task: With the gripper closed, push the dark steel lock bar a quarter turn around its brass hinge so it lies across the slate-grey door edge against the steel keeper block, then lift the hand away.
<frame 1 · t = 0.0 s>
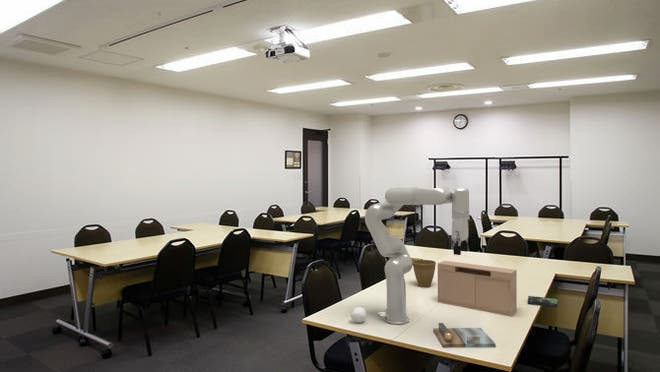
hand: (460, 252, 189), 37 cm above the table, tool pointing down, fingers open, 9 cm apart
plant pot: (424, 286, 271), on the table
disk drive: (542, 304, 232), on the table
lock bar: (444, 331, 184), point 3 cm above the table, hinge at 0.0°
box: (475, 307, 228), on the table
white ball: (358, 322, 207), on the table
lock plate: (462, 338, 185), on the table
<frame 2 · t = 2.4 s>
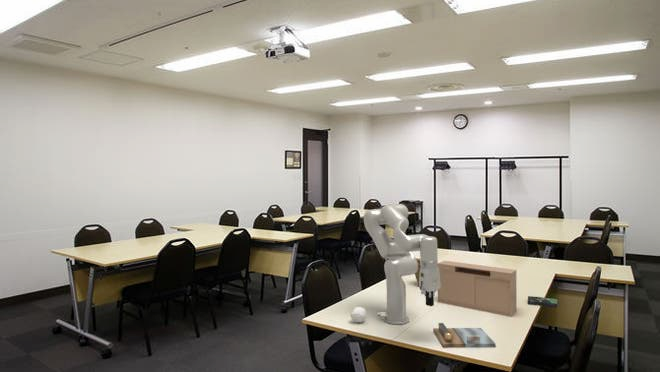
hand: (429, 305, 186), 15 cm above the table, tool pointing down, fingers closed
nothing on the table moved.
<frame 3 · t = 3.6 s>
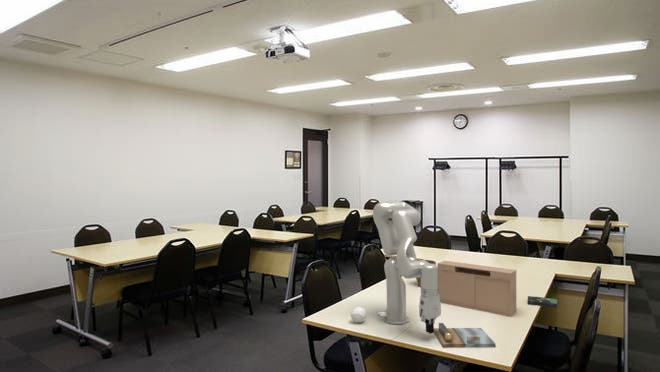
hand: (429, 332, 186), 2 cm above the table, tool pointing down, fingers closed
nothing on the table moved.
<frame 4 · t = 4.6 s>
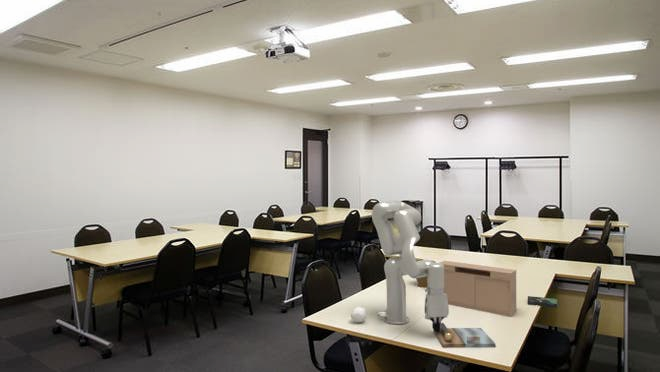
hand: (436, 330, 188), 2 cm above the table, tool pointing down, fingers closed
lock bar: (445, 331, 184), point 3 cm above the table, hinge at 1.1°, touching gripper
everything else where it was.
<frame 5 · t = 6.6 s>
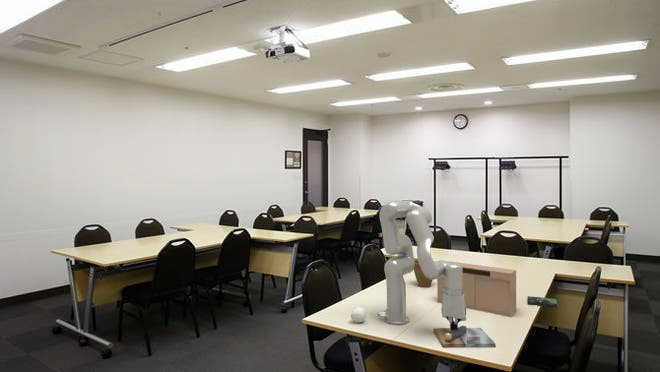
hand: (454, 331, 187), 2 cm above the table, tool pointing down, fingers closed
lock bar: (455, 333, 182), point 3 cm above the table, hinge at 47.3°, touching gripper
everything else where it was.
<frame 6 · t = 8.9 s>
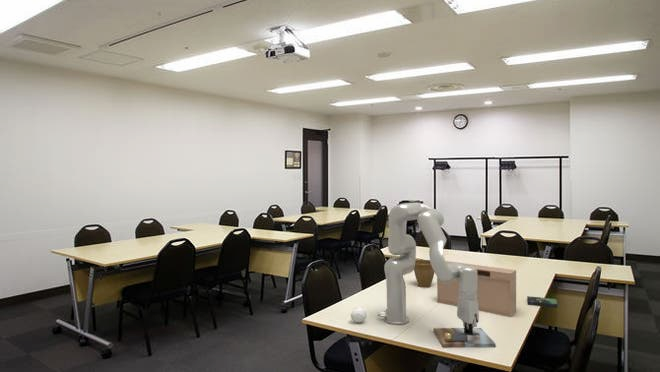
hand: (468, 336, 181), 2 cm above the table, tool pointing down, fingers closed
lock bar: (462, 336, 178), point 3 cm above the table, hinge at 91.2°, touching gripper
everything else where it was.
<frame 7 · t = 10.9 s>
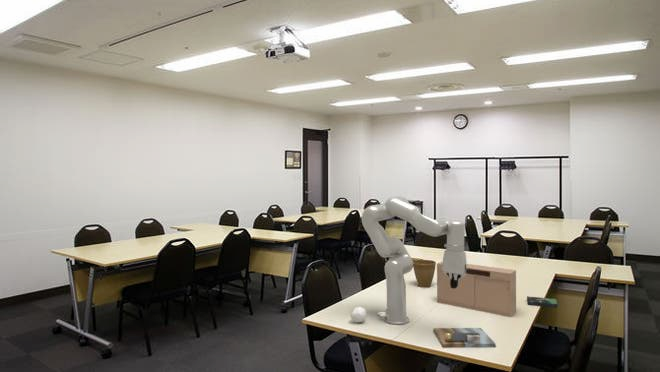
hand: (453, 287, 190), 21 cm above the table, tool pointing down, fingers closed
lock bar: (462, 336, 178), point 3 cm above the table, hinge at 91.2°
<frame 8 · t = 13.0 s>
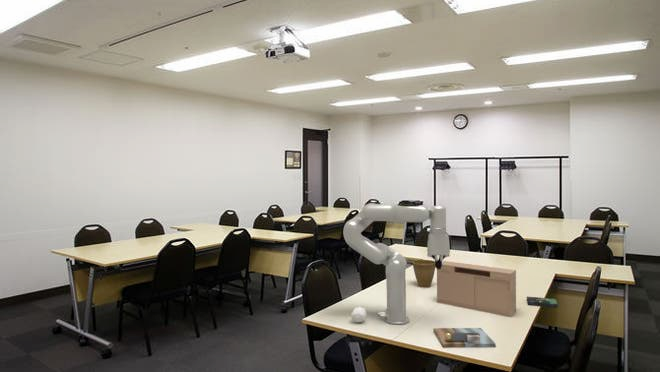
hand: (438, 268, 203), 27 cm above the table, tool pointing down, fingers closed
at the end: lock bar at +91° (first picture: +0°) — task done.
